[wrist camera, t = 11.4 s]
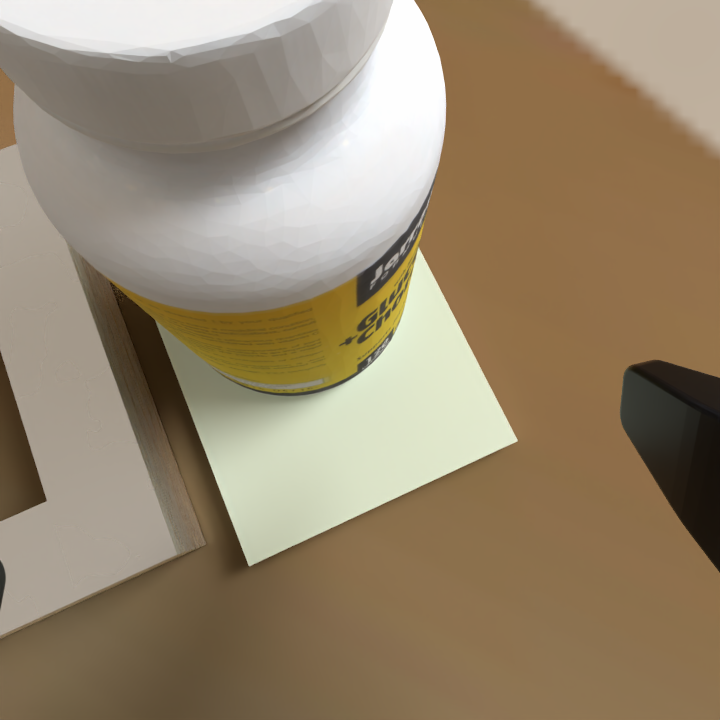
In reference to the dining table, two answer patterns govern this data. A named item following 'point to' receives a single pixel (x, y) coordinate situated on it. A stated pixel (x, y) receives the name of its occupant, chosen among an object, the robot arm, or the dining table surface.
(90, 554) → the collar
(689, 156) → the dining table surface
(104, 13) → the pill bottle
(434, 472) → the mat
